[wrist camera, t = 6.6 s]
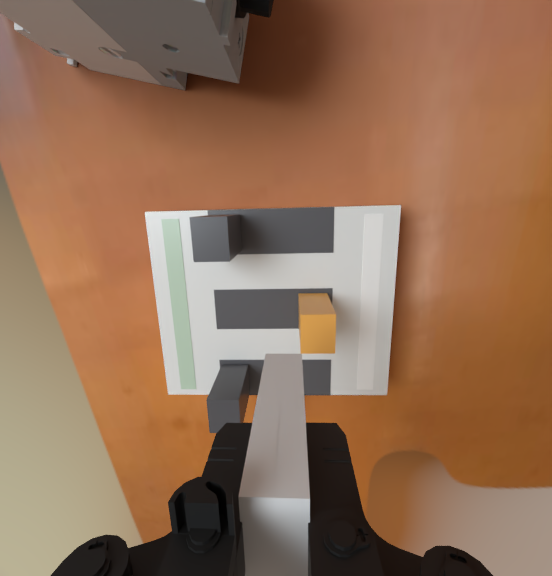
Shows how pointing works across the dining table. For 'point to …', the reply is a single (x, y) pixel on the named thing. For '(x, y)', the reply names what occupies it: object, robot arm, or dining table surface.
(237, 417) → the block
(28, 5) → the circuit breaker
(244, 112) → the dining table surface
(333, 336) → the block
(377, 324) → the panel
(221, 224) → the block
